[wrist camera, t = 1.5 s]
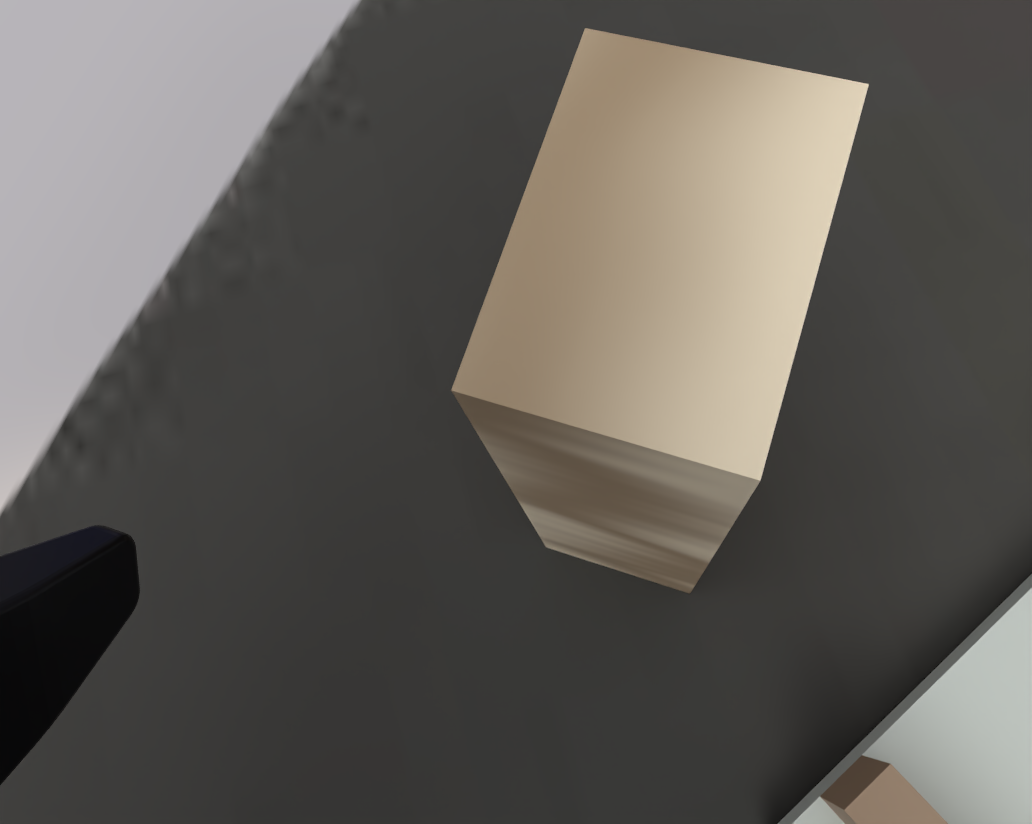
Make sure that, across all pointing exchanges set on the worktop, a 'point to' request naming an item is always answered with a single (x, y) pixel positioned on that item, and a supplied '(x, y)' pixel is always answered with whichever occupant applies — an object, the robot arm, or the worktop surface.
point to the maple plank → (656, 298)
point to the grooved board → (947, 740)
